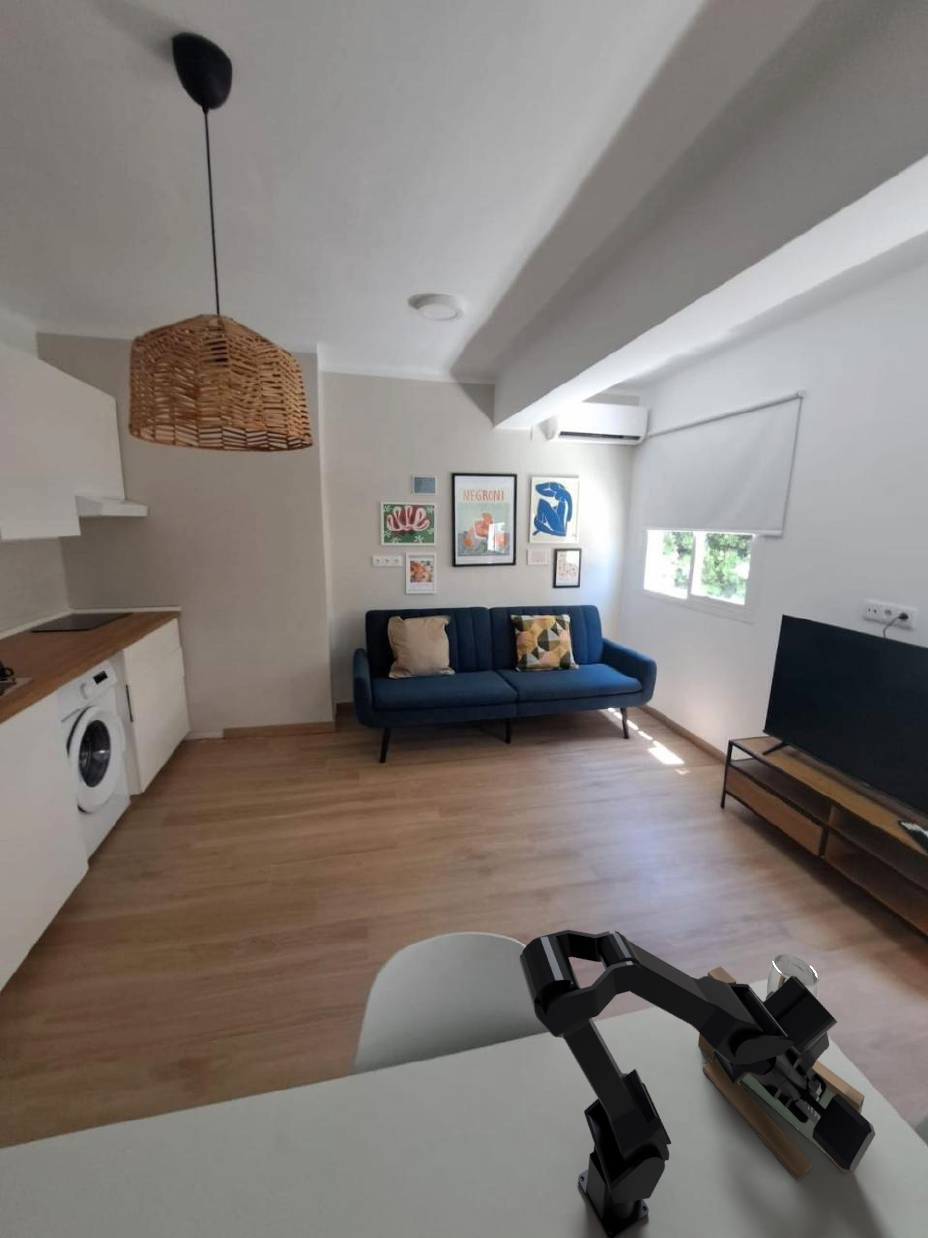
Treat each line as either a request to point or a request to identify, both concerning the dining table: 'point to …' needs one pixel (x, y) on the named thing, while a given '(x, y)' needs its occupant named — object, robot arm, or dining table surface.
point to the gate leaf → (832, 1088)
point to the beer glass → (792, 973)
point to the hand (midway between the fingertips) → (804, 1091)
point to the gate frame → (753, 1105)
